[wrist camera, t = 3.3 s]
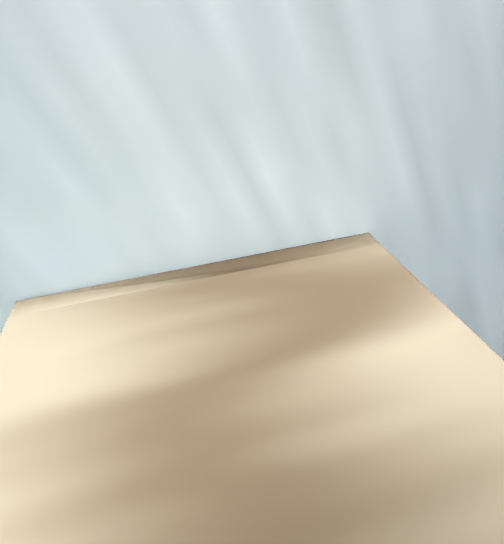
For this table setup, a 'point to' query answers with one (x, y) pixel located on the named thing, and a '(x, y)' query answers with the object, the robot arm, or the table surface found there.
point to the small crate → (251, 408)
